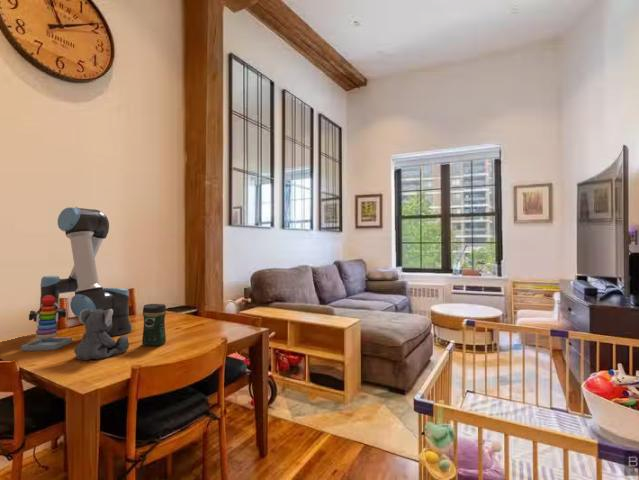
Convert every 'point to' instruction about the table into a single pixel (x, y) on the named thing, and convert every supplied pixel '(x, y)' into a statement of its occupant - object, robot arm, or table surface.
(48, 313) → the stacking toy
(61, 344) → the tray
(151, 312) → the coffee jar
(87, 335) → the koala plush
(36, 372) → the table surface
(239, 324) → the table surface
